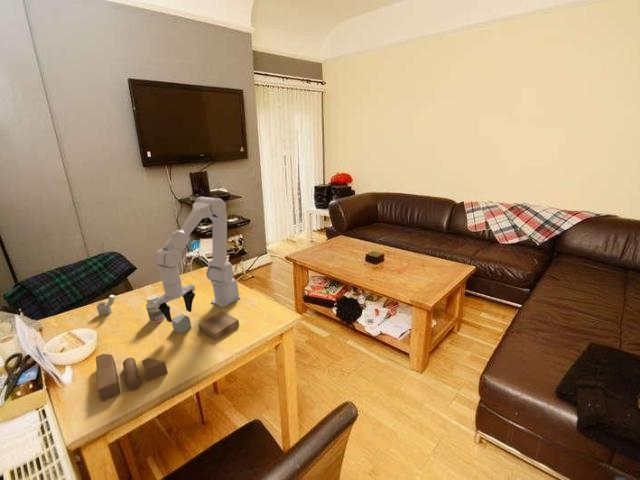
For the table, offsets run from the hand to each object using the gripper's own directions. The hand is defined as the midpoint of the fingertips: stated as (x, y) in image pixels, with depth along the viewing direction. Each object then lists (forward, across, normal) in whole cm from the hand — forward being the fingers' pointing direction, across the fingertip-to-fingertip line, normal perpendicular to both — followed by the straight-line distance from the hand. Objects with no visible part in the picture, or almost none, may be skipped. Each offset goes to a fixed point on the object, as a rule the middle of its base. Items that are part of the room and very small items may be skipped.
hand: (179, 315), depth 114 cm
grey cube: (+6, 0, 0) cm, 6 cm away
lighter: (+6, +11, -35) cm, 37 cm away
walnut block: (+6, -8, +11) cm, 15 cm away
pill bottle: (+6, +2, -14) cm, 15 cm away
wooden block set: (+6, +21, +7) cm, 23 cm away
